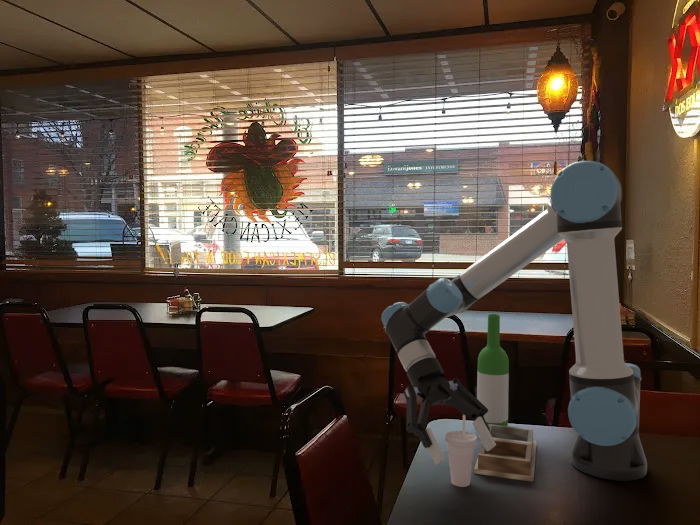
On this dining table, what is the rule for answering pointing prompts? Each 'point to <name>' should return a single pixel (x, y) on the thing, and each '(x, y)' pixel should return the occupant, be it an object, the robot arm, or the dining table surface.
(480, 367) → the wine bottle
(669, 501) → the dining table surface
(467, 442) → the smoothie
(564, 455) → the dining table surface
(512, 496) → the dining table surface
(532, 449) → the board
